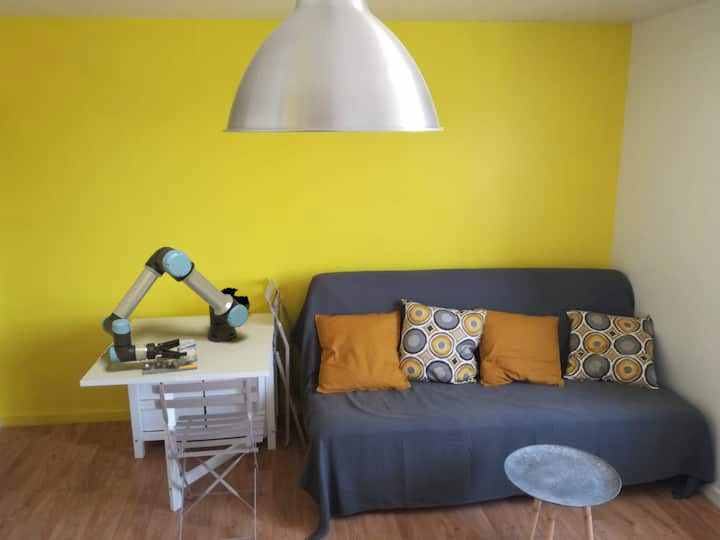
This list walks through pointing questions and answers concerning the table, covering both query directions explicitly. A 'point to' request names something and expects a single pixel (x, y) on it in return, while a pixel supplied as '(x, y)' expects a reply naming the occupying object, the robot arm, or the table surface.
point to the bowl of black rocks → (237, 297)
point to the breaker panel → (166, 366)
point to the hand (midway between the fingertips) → (194, 347)
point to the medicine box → (187, 359)
